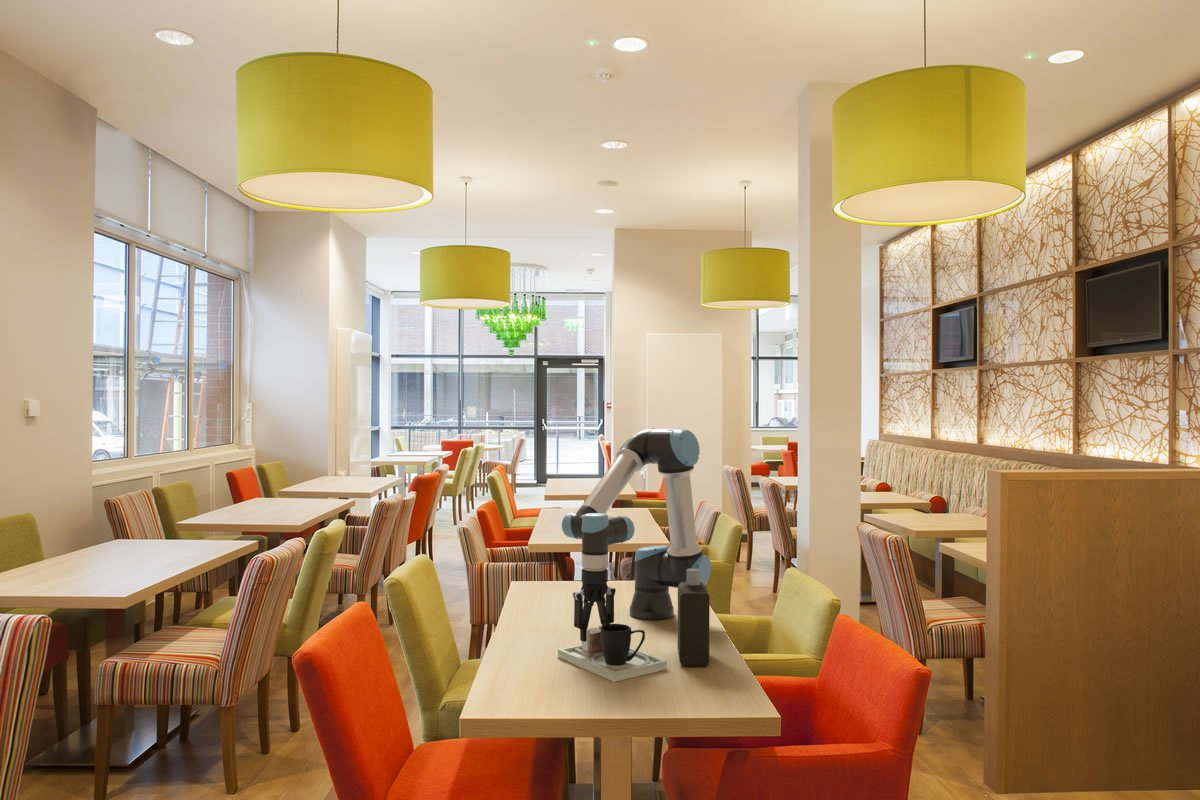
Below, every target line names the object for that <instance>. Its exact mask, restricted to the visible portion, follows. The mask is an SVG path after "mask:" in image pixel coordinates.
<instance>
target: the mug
mask: <svg viewBox="0 0 1200 800" xmlns="http://www.w3.org/2000/svg"><path fill="white" fill-rule="evenodd" d="M637 633H641V636H642V637H641V639H640V641H639V644H638V646H637V647H636V648H635V649H636V650H635V651H634V653H633V654H631V655H629V656H628V653H629V649H630V647H631V642H632V635H633V634H637ZM645 639H646V632H645V630H644V629H632V627H631V626H629V625H628V624H623V623H610V624H607V625H604V626H602V627H601V645H602V650H603V654H604V658H605V662H606V664H608V665H613V666H620V665H624V664H625V663H626V661H630V660H632V659H633V657H634V656H635V655H636V653H637V651H638V650H639V651H640V648H641V647H642V645H643V643H644V642H645Z"/></svg>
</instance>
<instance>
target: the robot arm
mask: <svg viewBox="0 0 1200 800" xmlns="http://www.w3.org/2000/svg"><path fill="white" fill-rule="evenodd" d="M615 455H616V459H615V460H614V461H613V463H612V464H611V465H610V467H609V468H608V469H607V471H606V472H605V474H604V475H603V476H602V477H601V479H600V480H599V482H598V483H597V484H596V486H595V487H594V488H593V490H592V491H590V492H591V493H590V494H589V495H588V496H587V498H586V499H585V501H584V502H583V503H582V505H581V506H580V507H579V509H578V510H577V512H569V513H567V514H565V515H564V517H563V519H562V520H561V521H562V522H561V530H562V533H563V535H565V536H566V537H568V538H572V539H576V540H581V567H582V569H581V579H580V580H581V583H582V585H581V588H580V590H579V591H578V592H576V591H574V592H572V593H573V594H572V596H573V600H574V606H573V607H574V608H573V610H574V611H573V613H574V614H573V626H574V627H575V628H577V629H579V636H580V637H579V638H580V639H579V640H580V641H581V645H582V650H583V651H585V652H588V653H590V630H588V629H589V622H590V617H591V614H592V608H593V607H594V605H595V603H596V607H597V609H598V610H597V612H598V616H599V620H600V624H599V625H598V627H597V628H599V629H601V627H602V626H604V625H607V624H614V623H615V594H616V588H614V587H610V586H608V583H607V582H608V581H609V569H607V568H608V567H609V545H615V544H620V543H621V544H623V543H625V542H627V541H629V540H631V539H632V538H633V536H634V534H635V524H634V522H633V521H632V519H631V518H629V517H628V516H625V515H622V516H615V517H614V516H609V515H608V514H607V512H608V511H609V510H610V508H611V507H612V506H613V504H614V503H615V502H616V500H617V498H618V497H619V496H620V494H621V492H622V491H624V488H626V486H627V485H628V483H629V482H630V480H631V479H632V477H633V476H634V475H635V473H636V472H640V471H641V470H642V469H643V467H644V466H645V465H651V464H654V465H657V470H658V471H657V472H658V473H659V474H661V475H662V477H663V482H664V483H663V484H664V493H665V503H666V511H667V521H668V522H667V523H668V531H669V539H670V540H669V541H670V546H669V545H652V546H651V545H650V546H645V547H644V546H643V547H640V548H638V549H636V550H635V553H634V554H635V556H634V561H633V562H634V593H633V596H632V600H631V602H630V606H629V615H630V616H631V617H633V618H636V619H641V620H653V621H654V620H665V619H666V620H667V619H670V618H672V617H674V615H675V613H674V612H675V609H674V606H673V601H672V598H671V594H670V588H676V589H678V585H679V584H680V583H681V582H687V569H690V568H691V569H700V582H702V583H703V584H704V585H705V586H706V585H707V583H708V581H709V579H710V575H711V570H712V561H711V559H710V558H709V557H708V555H705V554H703V548H702V547H703V546H701V545H700V544H698V542H697V540H698V539H697V532H696V524H695V523H696V522H695V521H696V520H695V513H694V511H695V510H694V503H693V493H692V483H691V482H692V481H691V473H692V472H693V471H694V466H695V465H696V464H697V463H698V461H699V459H700V457H699V456H700V445H699V441H698V439H697V437H696V435H695V434H694V433H693V432H692V431H691V430H689V429H684V428H683V429H682V428H679V427H678V428H655V427H651V428H644V429H643V430H639V431H638V432H636V433H635V434H634V435H633V436H631V437H630V438H629V439H627V440H626V441H625V442H624V443H623V444H622V446H621V447H619V449H618V451H617V452H616V454H615Z"/></svg>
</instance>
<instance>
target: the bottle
mask: <svg viewBox="0 0 1200 800" xmlns="http://www.w3.org/2000/svg"><path fill="white" fill-rule="evenodd" d="M710 605H711V603H710V595H709V592H708V589H707V586H706V585H704V584H703V583H702V582H700V569H691V568H690V569H687V582H681V583H680V584H679V585H678V588H677V653H678V659H679V663H680V664H681V666H682V667H683V668H684V667H685V668H707V666H708V665H709V664H710V612H711V611H710Z"/></svg>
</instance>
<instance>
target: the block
mask: <svg viewBox="0 0 1200 800" xmlns="http://www.w3.org/2000/svg"><path fill="white" fill-rule="evenodd" d="M588 630H590V654H594V653H599V652H603V650H602V645H601V629H599V628H598V627H597V626H596V627H590V628H588Z"/></svg>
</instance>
